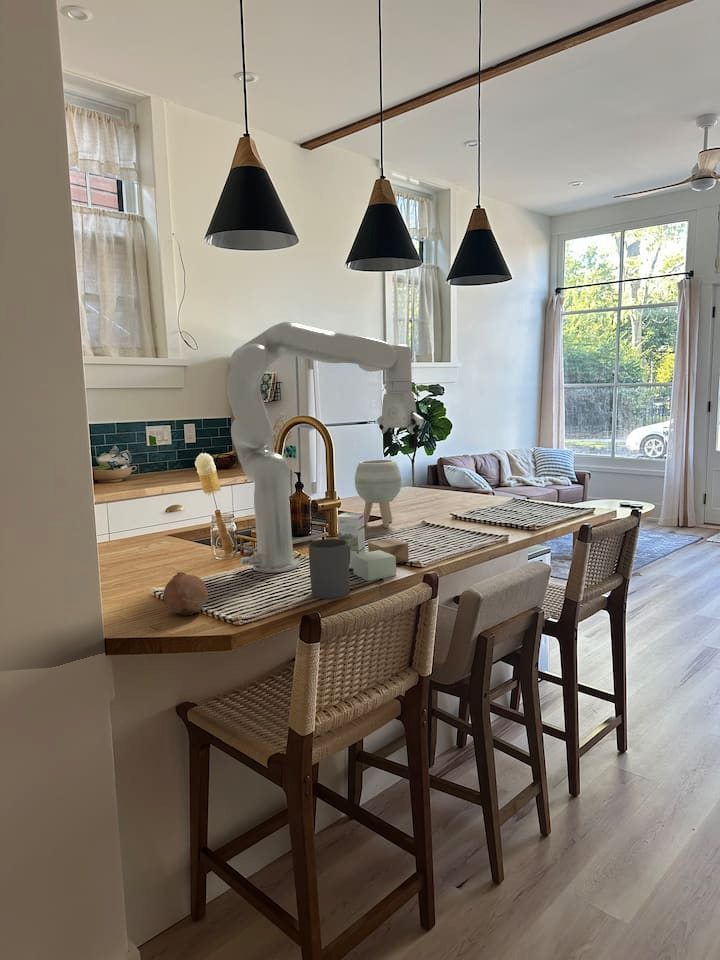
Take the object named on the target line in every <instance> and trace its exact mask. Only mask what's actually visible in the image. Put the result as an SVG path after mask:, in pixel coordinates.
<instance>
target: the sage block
mask: <svg viewBox="0 0 720 960" xmlns="http://www.w3.org/2000/svg"><path fill="white" fill-rule="evenodd" d="M352 570H353V574H354V575H355V576H358V577H360V578H362V579H364V580H366V581H368V582H371V581H375V580H380V579H386V578H390V577H395V576H397V563H396V556H394V555H391V554H389V553H386V552H383V551H381V550H378V551H372V552H369V551H367V552H366V551H365V553H361V554H355V555H353V569H352Z"/></svg>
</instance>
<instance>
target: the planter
mask: <svg viewBox="0 0 720 960" xmlns="http://www.w3.org/2000/svg"><path fill="white" fill-rule="evenodd" d="M354 486H355V491H356V493H357V494H358V496H359V497H360V498H361V499H362V501H364V502H365V503H364V510H363V512H362V513H363V514H364V527H365V526H367V525H368V524H369V523H368V522H369V518H370V517H371V512H372V508H373V506H374V505H373V504H379V511H380V517H381V522H382V527H383V528H384V529H388V528H390V523H392V522H393V520H394V519H393V515H392V514H393V513H392V510H391V505H390V502H393V501H394V500H395V498H396V497H397V496H398V495H399V493H400V491H401V489H402V475H401V470H400V467H399V465H398V463H397V461H396V460H394V459H370V460H362V461H359V462H358V464H357V467H356V470H355V475H354Z"/></svg>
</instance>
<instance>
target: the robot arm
mask: <svg viewBox="0 0 720 960" xmlns="http://www.w3.org/2000/svg"><path fill="white" fill-rule="evenodd" d="M287 355H288V356H293V357H298V358H304V359H307V360H311V361H312V360H313V361H317V362H321V363H326V364H355V365H357V366H358V367H359V368H360V369H361V370H363V371H366V372H371V373H373V372H378V371H379V372H380V371H385V385H384V390H385V393H384V394H383V397H382V398H383V399H382V403H381V404H382V405H381V415H379V417H377V418H376V421H377V424H378V427H379V429H380V431H381V434H383V447H384V448H391V447H393V446H394V441H393V436H394V435H393V433H392V431H393V429H399V428H400V429H403V428H406V429H407V431H408V433H409V434H408V448H409V449H415V448H418V447H419V446H418V444H419V443H418V434H420V431H421V430H422V427H423V425H424V421H425V418H424V417H422V416H421V415H419V414H417V406H416V405H417V404H416V399H415V395H414V392H413V383H412V380H413V378H412V348H411V346H409V345H408V344H390V343H389V342H387V341H384V340H383V341H382V340H379V339H375V338H372V337H371V338H370V337H366V336H361V335H360V336H359V335H354V334H347V333H342V332H337V331H330V330H326V329H322V328H317V327H313V326H309V325H304V324H301V323H296V322H291V321H282V322H280V323H277V324H275V325H272V326H271V327H268V329H266V330H265V331H263V332H261V333H260V334H258V335H257V336H255V337H254V338H252V339H250V340H248V341H247V342H245V343H244V344H242V345H240V347H238V348H236V349H235V350H234V352H232V354H231V355H230V358H229V363H230V364H229V365H230V370H229V371H228V377H227V381H226V390H227V392H226V393H227V397H228V401H229V404H230V408H231V411H232V415H233V417H234V420H233V421H232V424H231V425H230V435H231V440H232V444H233V446H234V449H235V451H236V455H237V458H238V460H239V462H240V466H241V469H242V470H243V473H244V475H245V476H246V478H247V479H248V480H250V481H251V482H252V483H254V488H253V489H254V490H253V491H254V492H253V507H254V518H255V520H254V521H255V532H256V535H255V536H256V548H257V551H256V550H255V551H254V553H253V554H252V555H251V556H246V557H240V564H241V565H242V566H243V565H248V566H252V569H253V571H256V572H258V573H262V574H263V573H264V574H274V573H275V574H276V573H283V572H289V571H292V570H294V569H297V568H298V567H299V566H300V560H299V559H297V558H295V557H294V551H293V550H294V549H293V533H292V520H291V519H292V518H291V505H290V504H291V503H290V485H291V484H290V483H291V468H290V465H289V463H288V461H287V460H286V459H285V457H284V456H282V455H281V454H279V453H278V452H274V451H272V448H271V445H270V444H271V443H272V441H273V439H274V436H275V435H274V434H275V433H274V427H273V424H272V423H271V420H270V416H269V413H268V411H267V408H266V405H265V401H264V399H263V395H262V392H261V391H262V390H261V383H262V380H263V377H264V375H265V374H266V373H267V371H268V370H269V368H270V367H271V365H272V364H273V363H275V362H276V361H279V359H281V358H282V357H283V356H287Z"/></svg>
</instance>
